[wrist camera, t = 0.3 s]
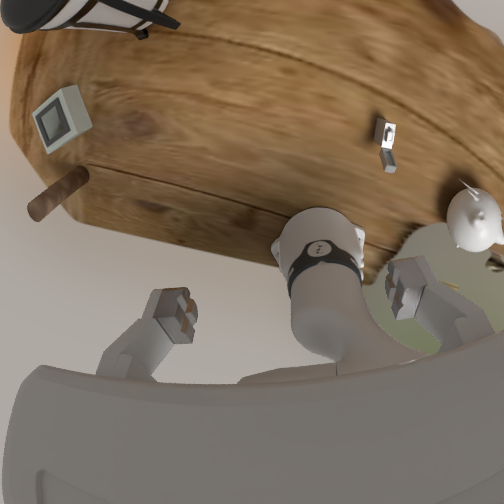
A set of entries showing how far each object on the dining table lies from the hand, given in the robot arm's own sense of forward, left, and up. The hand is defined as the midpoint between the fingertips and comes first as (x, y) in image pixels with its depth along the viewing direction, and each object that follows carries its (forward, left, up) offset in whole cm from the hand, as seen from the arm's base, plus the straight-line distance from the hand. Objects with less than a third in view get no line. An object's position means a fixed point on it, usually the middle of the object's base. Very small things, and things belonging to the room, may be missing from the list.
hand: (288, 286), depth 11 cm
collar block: (+16, +39, -37) cm, 56 cm away
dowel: (+3, +42, -37) cm, 56 cm away
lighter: (-6, -15, -38) cm, 41 cm away
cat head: (-22, -33, -38) cm, 55 cm away
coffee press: (+28, +15, -38) cm, 49 cm away
